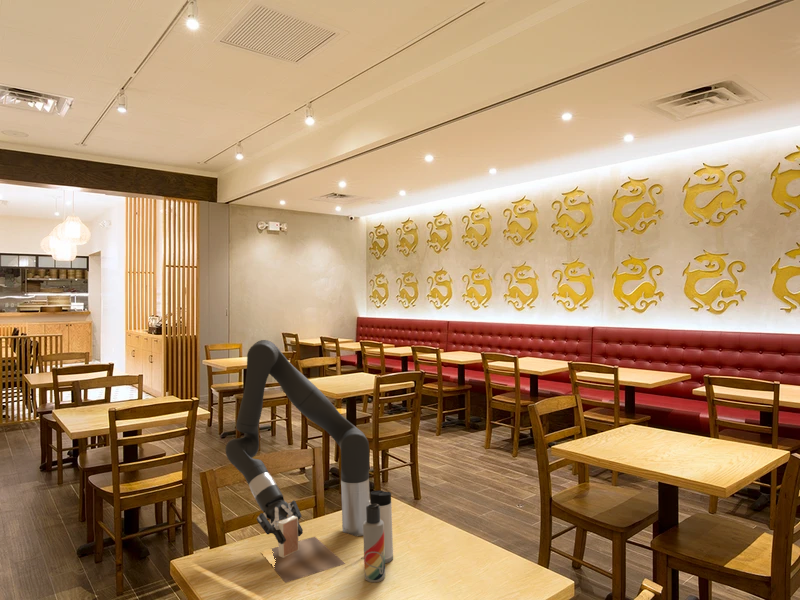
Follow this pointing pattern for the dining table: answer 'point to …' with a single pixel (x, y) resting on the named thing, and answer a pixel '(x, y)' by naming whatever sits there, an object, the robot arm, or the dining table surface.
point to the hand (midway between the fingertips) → (292, 538)
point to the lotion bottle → (374, 544)
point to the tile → (289, 536)
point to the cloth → (305, 560)
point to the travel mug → (385, 519)
